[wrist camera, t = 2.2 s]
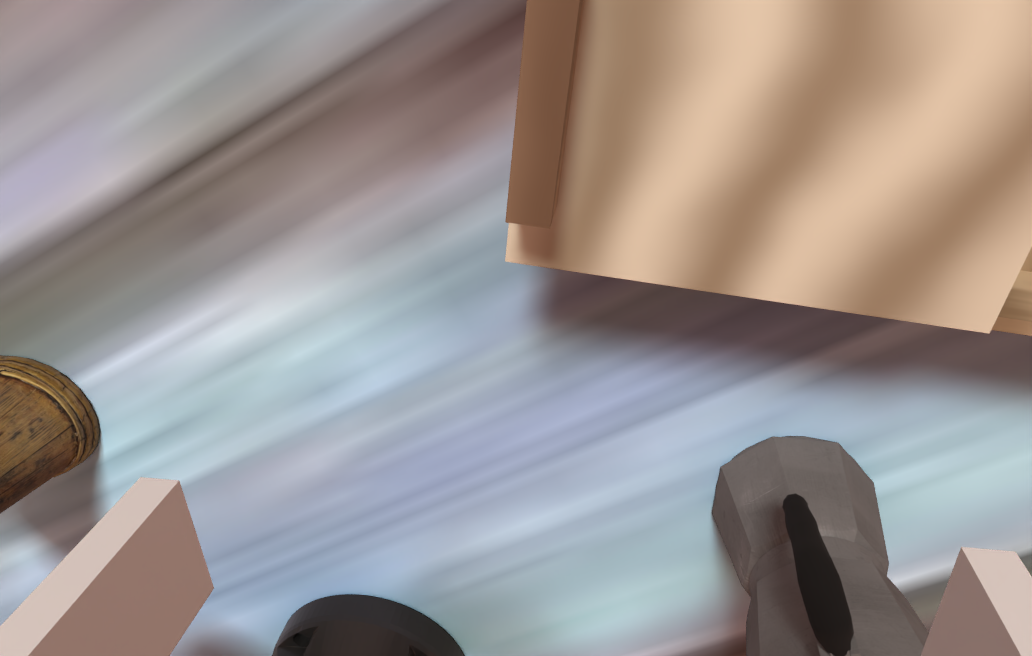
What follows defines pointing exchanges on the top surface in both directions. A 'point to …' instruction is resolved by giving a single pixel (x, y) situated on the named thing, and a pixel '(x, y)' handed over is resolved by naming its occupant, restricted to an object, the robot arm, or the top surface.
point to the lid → (781, 150)
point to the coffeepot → (811, 553)
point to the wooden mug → (40, 427)
